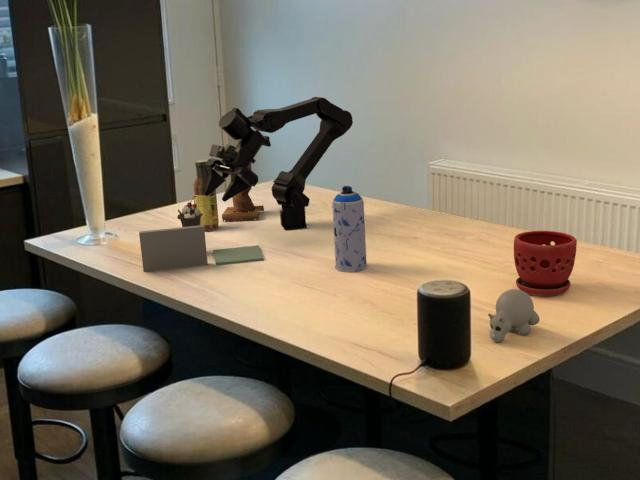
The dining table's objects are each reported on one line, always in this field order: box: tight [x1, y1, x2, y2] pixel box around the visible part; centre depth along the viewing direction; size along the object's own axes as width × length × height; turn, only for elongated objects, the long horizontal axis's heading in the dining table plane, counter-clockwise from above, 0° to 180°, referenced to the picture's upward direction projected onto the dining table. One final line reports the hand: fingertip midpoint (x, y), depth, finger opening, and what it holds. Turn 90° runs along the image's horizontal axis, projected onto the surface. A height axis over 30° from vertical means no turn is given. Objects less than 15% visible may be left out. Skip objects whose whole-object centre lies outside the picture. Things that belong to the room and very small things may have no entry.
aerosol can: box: [331, 185, 368, 273], centre depth 227 cm, size 8×8×20 cm
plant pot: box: [513, 230, 578, 297], centre depth 205 cm, size 13×13×12 cm
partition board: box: [138, 225, 209, 272], centre depth 237 cm, size 16×2×10 cm, turn 99°
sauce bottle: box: [193, 159, 220, 232], centre depth 269 cm, size 6×6×20 cm
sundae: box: [176, 195, 203, 227], centre depth 248 cm, size 7×7×15 cm
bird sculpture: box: [221, 139, 265, 223], centre depth 278 cm, size 11×12×32 cm
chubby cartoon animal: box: [487, 288, 540, 343], centre depth 182 cm, size 7×12×8 cm, turn 130°
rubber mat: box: [212, 244, 264, 266], centre depth 244 cm, size 12×12×1 cm
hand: (214, 197), depth 251 cm, fingers open, 9 cm apart
